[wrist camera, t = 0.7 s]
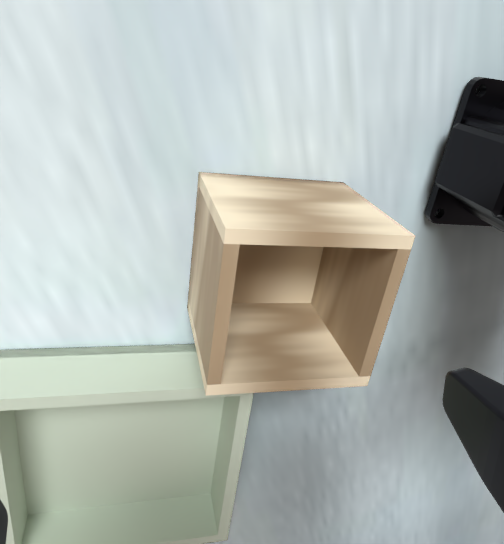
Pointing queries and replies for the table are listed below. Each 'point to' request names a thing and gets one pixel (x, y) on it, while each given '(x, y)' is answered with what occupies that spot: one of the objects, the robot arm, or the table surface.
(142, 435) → the pale green square tray
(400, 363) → the table surface
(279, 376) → the small crate
